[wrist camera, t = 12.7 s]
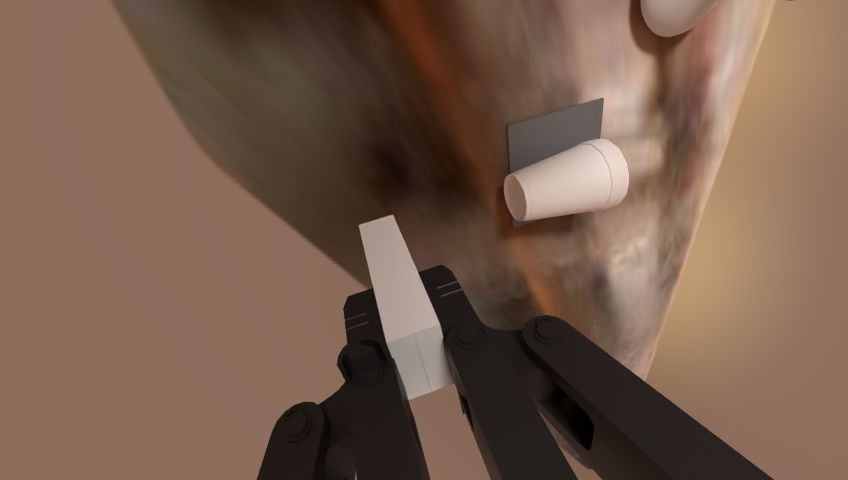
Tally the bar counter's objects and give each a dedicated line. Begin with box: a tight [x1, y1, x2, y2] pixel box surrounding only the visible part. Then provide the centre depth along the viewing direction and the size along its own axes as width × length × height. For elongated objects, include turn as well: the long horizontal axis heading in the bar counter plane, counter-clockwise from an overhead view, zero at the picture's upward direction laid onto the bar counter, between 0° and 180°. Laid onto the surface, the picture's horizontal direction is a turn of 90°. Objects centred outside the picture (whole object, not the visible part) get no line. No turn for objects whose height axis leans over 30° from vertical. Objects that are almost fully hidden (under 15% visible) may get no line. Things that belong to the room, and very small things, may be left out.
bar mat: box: [506, 98, 604, 229], centre depth 51 cm, size 16×14×1 cm
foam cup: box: [504, 139, 629, 222], centre depth 47 cm, size 10×9×13 cm
